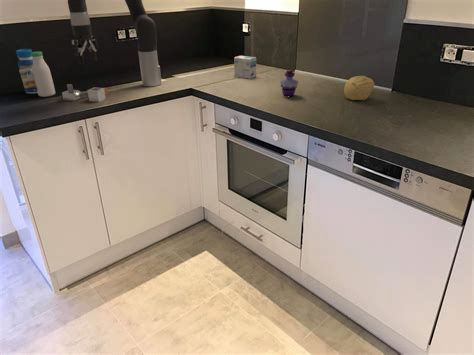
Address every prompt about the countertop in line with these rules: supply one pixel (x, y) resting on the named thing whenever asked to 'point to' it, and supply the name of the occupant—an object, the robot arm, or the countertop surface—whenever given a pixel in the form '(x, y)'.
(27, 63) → the beverage bottle
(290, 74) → the potion bottle
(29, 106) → the countertop surface
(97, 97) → the socket
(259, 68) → the countertop surface
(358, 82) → the tan lumpy round lump
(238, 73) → the light bulb box
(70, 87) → the ratchet
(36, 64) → the milk bottle
